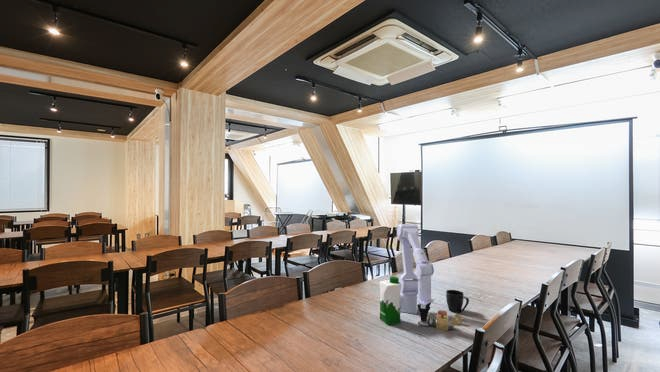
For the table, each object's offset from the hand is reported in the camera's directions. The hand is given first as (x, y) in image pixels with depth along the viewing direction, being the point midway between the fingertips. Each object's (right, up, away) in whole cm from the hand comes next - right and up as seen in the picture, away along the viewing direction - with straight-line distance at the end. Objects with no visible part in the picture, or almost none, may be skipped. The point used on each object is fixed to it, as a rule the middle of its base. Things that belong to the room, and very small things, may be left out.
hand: (424, 319), depth 136 cm
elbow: (+15, -3, +1) cm, 16 cm away
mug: (+22, -3, +15) cm, 27 cm away
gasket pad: (0, -2, 0) cm, 2 cm away
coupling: (+1, -2, 0) cm, 2 cm away
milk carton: (-15, -2, +3) cm, 16 cm away
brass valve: (+7, -2, -3) cm, 8 cm away
